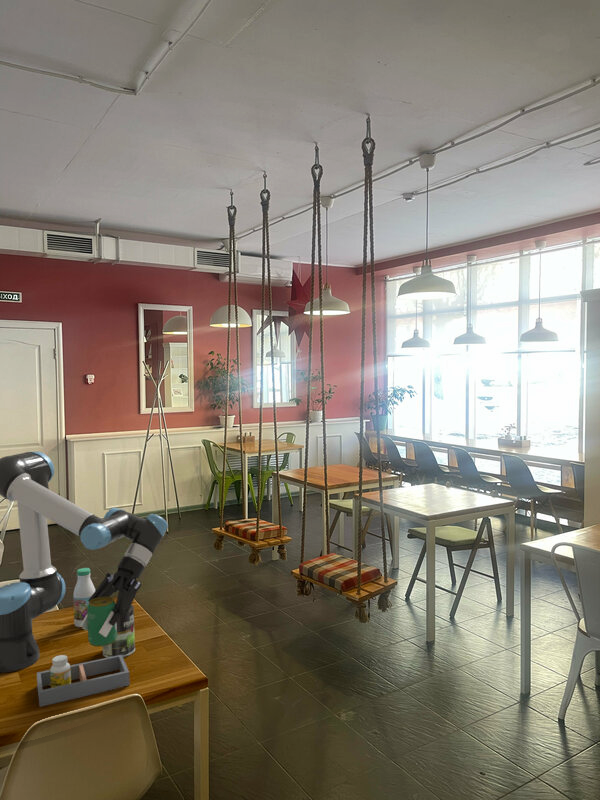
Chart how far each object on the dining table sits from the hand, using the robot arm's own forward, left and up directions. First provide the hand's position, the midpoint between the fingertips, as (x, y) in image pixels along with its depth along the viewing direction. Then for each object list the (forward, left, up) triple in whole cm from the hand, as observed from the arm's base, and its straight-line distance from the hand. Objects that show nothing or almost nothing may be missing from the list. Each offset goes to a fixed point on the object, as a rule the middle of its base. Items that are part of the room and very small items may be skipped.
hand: (92, 631), depth 176 cm
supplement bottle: (-2, -9, -16) cm, 19 cm away
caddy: (-2, -3, -16) cm, 16 cm away
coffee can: (-20, +10, -16) cm, 27 cm away
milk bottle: (-49, +3, -16) cm, 51 cm away
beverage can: (-2, +3, -4) cm, 6 cm away
